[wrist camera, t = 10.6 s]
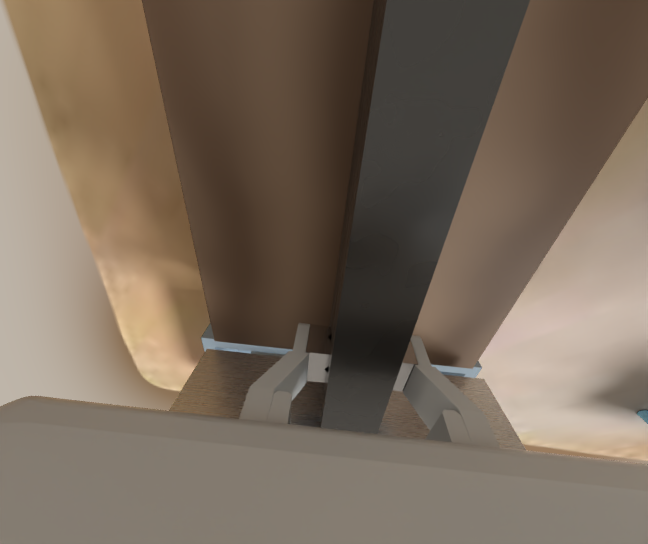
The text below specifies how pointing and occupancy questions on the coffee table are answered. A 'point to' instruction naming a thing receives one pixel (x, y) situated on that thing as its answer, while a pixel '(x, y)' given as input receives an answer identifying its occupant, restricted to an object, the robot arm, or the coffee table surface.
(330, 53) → the plate
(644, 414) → the light blue open frame
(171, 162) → the coffee table surface
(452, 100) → the scraper
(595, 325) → the coffee table surface
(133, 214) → the coffee table surface
